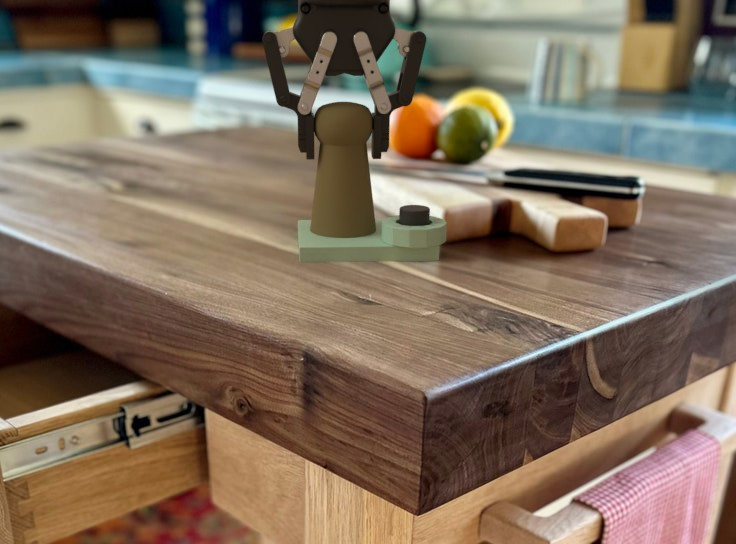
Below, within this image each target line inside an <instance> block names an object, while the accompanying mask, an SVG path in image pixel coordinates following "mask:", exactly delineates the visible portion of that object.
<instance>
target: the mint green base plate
mask: <svg viewBox="0 0 736 544" xmlns="http://www.w3.org/2000/svg"><path fill="white" fill-rule="evenodd" d="M375 223H376V232H374V233H373V234H370V235H367V236H361V237H352V238H333V237H325V236H320V235H316V234H314V233H312V232H311V231H310V226H311V219H298V220H297V240H298V242H297V243H298V259H299V260H298V261H299V263H346V262H347V263H349V262H350V263H351V262H354V263H356V262H420V261H422V262H423V261H424V262H425V261H433V262H434V261H440V252H441V251H440V249H441V245H442V244H445V243H446V242H447V231H448V228H447V227H448V223H447V221H446V220H445V219H444V218H441V217H438V216H433V215H430V218H429V225H425V226H406V225H401V224H399V214H397V215H391V216H388V217H386V218H375Z"/></svg>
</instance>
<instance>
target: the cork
mask: <svg viewBox="0 0 736 544" xmlns="http://www.w3.org/2000/svg"><path fill="white" fill-rule="evenodd" d="M372 113H373V112H371V110H370V108H369V107H367V105H364V104H361V103H357V102H354V101H353V102H352V101H334V102H330V103H329V102H328V103H326V104H322V105H321V106H319V107H318V108H317V110H316V111H315V113H314V137H316V139H317V141H318V142H319V146H318V147H319V148H318V155H317V157H318V158H317V164H316V174H315V184H314V191H313V192H314V193H313V200H312V207H311V209H312V210H311V217H310V220H311V226H310V231H311V232H312V233H314V234H316V235H320V236H325V237H333V238H352V237H361V236H367V235H370V234H373V233H374V232H376V223H375V219H376V216H375V215H376V214H375V207H374V199H373V198H374V197H373V189H372V188H373V187H372V179H371V172H370V170H371V169H370V163H369V162H370V161H369V154H368V141H369V140H370V138H371V137H372V129H373V117H372Z"/></svg>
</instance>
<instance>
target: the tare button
mask: <svg viewBox="0 0 736 544" xmlns="http://www.w3.org/2000/svg"><path fill="white" fill-rule="evenodd" d="M398 212H399V213H398V215H399V224H401V225H406V226H425V225H429V218H430V216H431V215H430V214H431V213H430V212H431V208H430V207H429V206H426V205H423V204H422V205H421V204H407V205H402V206H400V207H399V211H398Z"/></svg>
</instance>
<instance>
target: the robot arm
mask: <svg viewBox="0 0 736 544" xmlns="http://www.w3.org/2000/svg"><path fill="white" fill-rule="evenodd" d="M390 3H391V0H297V15H296V18H295V21H294V22H293V25H292V27H287V28H284V29H280V30H276V31H274V30H267V31H265V32H264V34H263V35H262V37H261V40H262V46H263V51H264V54H265V58H266V62H267V67H268V71H269V75H270V79H271V84H272V88H273V93H274V96H275V100H276V104H277V105H278V106H279V107H281V108H286V109H288V110H291V111H293V112H294V113H295V114H296V116H297V147H298V150H299V153H301V154H304V153H305V159H306V160H309V161H310V160H315V133H314V115H315V113H314V112H313V107H314V104H315V102H316V98H317V96H318V94H319V91H320V89H321V86H322V84H323V80H324V78H325V77H337V76H340V75H343V74H345V75H349V76H353V77H363V78H364V81H365V84H366V85H367V88H368V91H369V94H370V96H371V99H372V102H373V104H374V106H373V107H374V108H373V109H374V110H373V111H374V112H371V113H372V117H373V129H372V133H371V137H370V138H371V141H370V144H371V146H370V151H371V152H370V153H371V154H370V155H371V159H372V160H381V159H382V153H388V150H389V148H390V126H391V125H390V123H391V122H390V121H391V120H390V119H391V114H392V113H393V112H394V111H395V110H398V109H400V108H402V107H409V106H410V105H411V104H412V102H413V99H414V94H415V90H416V86H417V81H418V78H419V73H420V70H421V65H422V61H423V57H424V52H425V49H426V44H427V36H426V34H425V33H424V32H423V31H421V30H413V31H412V30H408V29H405V28H400V27H396V24H395V21H394V20H393V18H392V15H391V10H390V9H391V8H390V7H391V6H390ZM294 40H295V41H296V42H297V44H298V45H299V47H300V48H301V50H302V51H303V53H304V54H305V56H306V57H307V58H308V60H309V62H310V64H309V68H308V70H307V74H306V77H305V80H304V83H303V86H302V89H301V92H300V94H297V93H294V92H292V91H290V88H289V84H288V79H287V75H286V70H285V66H284V61H283V58H286V57H287V56H288V55H289V53H290V44H291V43H292V42H293V41H294ZM393 40H394V41H395V42H396V44H397V53H398V54H399V56H401V57H402V63H401V68H400V71H399V75H398V81H397V85H396V89H395V91H393V92H390V93H388V92H387V89H386V86H385V83H384V79H383V77H382V74H381V70H380V68H379V65H378V61H379V60H380V58H381V57H382V56H383V54H384V53H385V51H386V50H387V48H388V47H389V45H391V43H392V41H393Z"/></svg>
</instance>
